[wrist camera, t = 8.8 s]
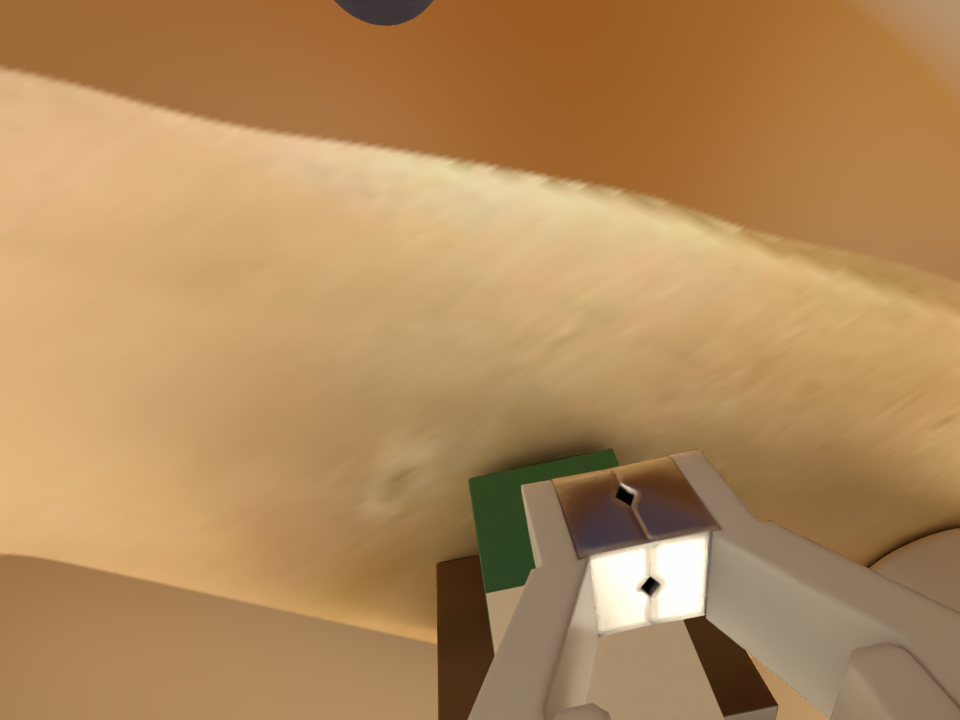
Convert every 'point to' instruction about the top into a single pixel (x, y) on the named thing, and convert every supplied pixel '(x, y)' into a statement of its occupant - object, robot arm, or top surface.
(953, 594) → the cylinder vase
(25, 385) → the top surface
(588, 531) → the robot arm
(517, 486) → the block
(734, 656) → the block
